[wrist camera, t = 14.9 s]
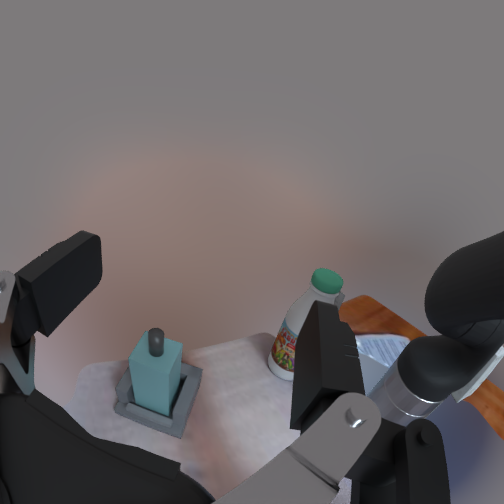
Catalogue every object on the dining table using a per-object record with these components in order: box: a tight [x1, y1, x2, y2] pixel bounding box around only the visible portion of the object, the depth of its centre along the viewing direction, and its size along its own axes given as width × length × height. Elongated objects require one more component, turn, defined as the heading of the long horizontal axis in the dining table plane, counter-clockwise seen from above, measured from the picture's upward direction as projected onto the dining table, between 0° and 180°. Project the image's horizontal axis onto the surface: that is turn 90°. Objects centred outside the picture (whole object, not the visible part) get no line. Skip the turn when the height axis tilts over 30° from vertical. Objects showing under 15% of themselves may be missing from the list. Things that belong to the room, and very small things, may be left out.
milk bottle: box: [268, 268, 343, 381], centre depth 43 cm, size 8×8×20 cm
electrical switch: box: [334, 291, 345, 311], centre depth 58 cm, size 9×5×9 cm, turn 150°
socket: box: [114, 362, 203, 439], centre depth 34 cm, size 10×10×4 cm
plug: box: [128, 328, 183, 416], centre depth 31 cm, size 5×5×14 cm
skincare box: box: [451, 346, 504, 403], centre depth 41 cm, size 8×6×15 cm
